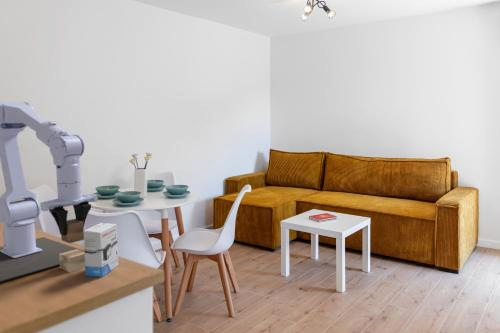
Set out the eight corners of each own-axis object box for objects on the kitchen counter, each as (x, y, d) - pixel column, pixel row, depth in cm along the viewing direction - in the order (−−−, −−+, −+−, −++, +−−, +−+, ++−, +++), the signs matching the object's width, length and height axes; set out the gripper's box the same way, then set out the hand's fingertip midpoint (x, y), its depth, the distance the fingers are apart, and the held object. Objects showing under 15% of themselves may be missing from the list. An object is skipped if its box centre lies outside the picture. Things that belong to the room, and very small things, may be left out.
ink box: (102, 277, 101) (100, 232, 99) (84, 276, 102) (82, 231, 100) (119, 265, 109) (117, 223, 108) (103, 263, 110) (101, 222, 108)
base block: (59, 268, 107) (59, 253, 106) (77, 263, 111) (77, 249, 110) (69, 273, 104) (68, 258, 103) (87, 267, 108) (86, 253, 107)
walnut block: (61, 240, 106) (60, 221, 105) (75, 236, 109) (75, 218, 108) (69, 243, 103) (68, 224, 103) (83, 239, 107) (83, 221, 106)
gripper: (49, 187, 96) (52, 242, 98) (102, 179, 108) (104, 228, 109) (34, 184, 100) (38, 236, 102) (88, 177, 112) (90, 224, 114)
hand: (71, 232), depth 106 cm, fingers closed on walnut block, 4 cm apart
